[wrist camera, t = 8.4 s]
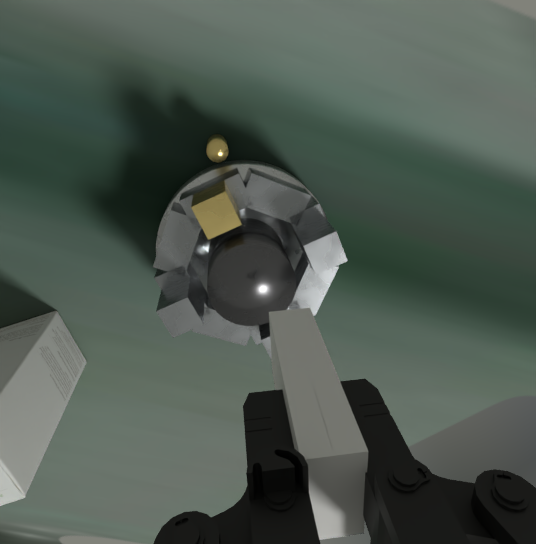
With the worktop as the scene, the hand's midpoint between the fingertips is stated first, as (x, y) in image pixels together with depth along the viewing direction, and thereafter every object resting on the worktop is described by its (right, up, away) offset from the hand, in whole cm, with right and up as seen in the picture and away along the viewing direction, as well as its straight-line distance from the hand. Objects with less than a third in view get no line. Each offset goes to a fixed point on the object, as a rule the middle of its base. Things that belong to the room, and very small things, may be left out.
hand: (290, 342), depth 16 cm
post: (-5, +13, +19) cm, 24 cm away
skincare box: (-23, -4, +25) cm, 34 cm away
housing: (-3, +5, +23) cm, 24 cm away
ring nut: (-3, +4, +20) cm, 21 cm away
